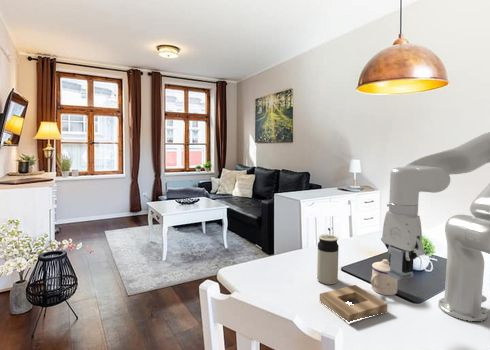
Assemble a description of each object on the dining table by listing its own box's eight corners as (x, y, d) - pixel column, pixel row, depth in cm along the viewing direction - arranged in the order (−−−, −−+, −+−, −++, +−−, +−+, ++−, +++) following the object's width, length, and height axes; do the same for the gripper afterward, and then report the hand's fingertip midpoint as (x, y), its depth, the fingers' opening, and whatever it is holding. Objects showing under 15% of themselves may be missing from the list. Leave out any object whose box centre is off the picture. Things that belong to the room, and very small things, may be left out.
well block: (355, 292, 106) (355, 284, 106) (387, 312, 93) (387, 303, 93) (319, 301, 100) (319, 293, 99) (348, 324, 87) (348, 315, 87)
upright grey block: (401, 271, 90) (402, 243, 89) (413, 276, 86) (414, 247, 85) (387, 274, 87) (388, 246, 87) (399, 280, 84) (400, 250, 83)
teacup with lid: (380, 282, 114) (382, 253, 113) (403, 292, 106) (404, 261, 105) (360, 289, 108) (361, 259, 107) (382, 300, 100) (383, 268, 99)
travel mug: (338, 285, 111) (339, 240, 109) (317, 284, 113) (318, 239, 111) (336, 276, 119) (337, 234, 117) (316, 275, 120) (317, 233, 119)
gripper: (371, 205, 91) (369, 261, 93) (421, 216, 76) (418, 283, 78) (388, 203, 94) (386, 257, 96) (440, 213, 79) (436, 278, 80)
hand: (400, 268), depth 87 cm, fingers closed on upright grey block, 4 cm apart
